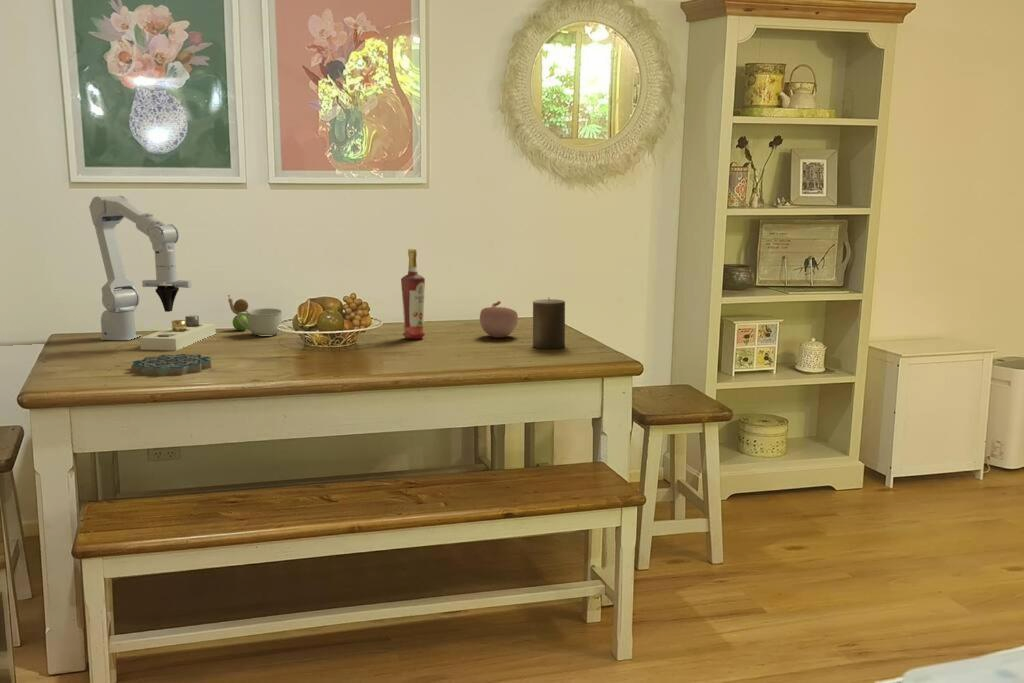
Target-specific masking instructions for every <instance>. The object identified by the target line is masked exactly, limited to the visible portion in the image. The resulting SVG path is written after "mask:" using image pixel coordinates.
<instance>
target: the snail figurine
mask: <svg viewBox="0 0 1024 683" xmlns="http://www.w3.org/2000/svg"><path fill="white" fill-rule="evenodd" d="M230 296H231V295H230V294H228V295H227V297H228V303H229V306H230V310H231V311H232V313H234V315H235V316H234V317H233V319H232V326H233V328H234V329H235V330H237V331H239V330H243V331H246V330H248V329H247V328H246V327H245V326H243V325H241V324H240V323H239V322H238V320H237V316H238V314H239V313H240V312H246V313H247V312H248V311H249V310H248V308H249V303H248V302H247V300H246V299H243V298H240V299H237V300H236V301H235V302H234V299H233V298H231V297H230ZM240 319H241V321H242V322H244V323H245V324H248V320H247V317H246V316H245V315H241V317H240Z"/></svg>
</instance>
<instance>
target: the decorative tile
mask: <svg viewBox="0 0 1024 683" xmlns="http://www.w3.org/2000/svg"><path fill="white" fill-rule="evenodd" d="M207 369H208V370H209V369H212V357H211V356H202V355H201V354H187V353H186V354H185V353H181V354H162V355H161V354H160V355H158V356H148V357H144V358H143V359H139V360H133V361H132V364H131V373H133V374H136V373H137V374H140V375H141V376H155V377H156V376H157V377H164V376H184V375H187V374H190V373H201V372H202V370H207Z"/></svg>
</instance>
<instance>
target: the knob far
mask: <svg viewBox="0 0 1024 683" xmlns="http://www.w3.org/2000/svg"><path fill="white" fill-rule="evenodd" d="M184 320H185V321H186V327H196V326H199V324H200V319H199V315H187V316H186V315H185V317H184Z"/></svg>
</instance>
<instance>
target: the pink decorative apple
mask: <svg viewBox="0 0 1024 683" xmlns="http://www.w3.org/2000/svg"><path fill="white" fill-rule="evenodd" d="M501 303H502V302H501V300H498V301H497V302H494V303H492V304H491V306H489V307H484V308H482V309H481V310H480V313H479V314H480V315H479V323H480V326H481V328H482V330H483V332H484V333H485V334H487V335H489V336H491V337H493V338H497V339H498V338H499V339H500V338H501V339H502V338H505V337H507V336H510V335H511V334H512V333H513V332H515V330H516V328H517V326H518V320H519V316H518V315H519V314H518V313H517V311H516V310H515V309H512V308H509V307H505V306H499V305H501Z"/></svg>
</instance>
